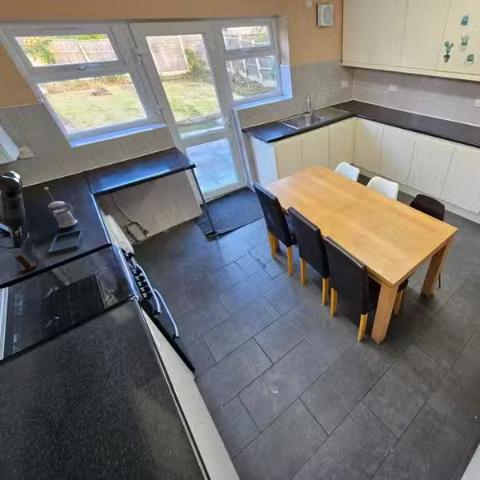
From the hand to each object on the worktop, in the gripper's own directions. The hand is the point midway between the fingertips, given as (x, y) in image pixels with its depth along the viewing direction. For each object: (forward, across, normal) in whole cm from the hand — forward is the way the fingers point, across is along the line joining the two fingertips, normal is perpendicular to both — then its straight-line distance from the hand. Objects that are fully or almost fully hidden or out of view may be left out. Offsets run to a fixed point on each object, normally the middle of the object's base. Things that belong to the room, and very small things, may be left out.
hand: (16, 242), depth 131 cm
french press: (+15, -37, +26) cm, 47 cm away
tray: (+12, -12, +21) cm, 27 cm away
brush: (+18, +2, +4) cm, 18 cm away
